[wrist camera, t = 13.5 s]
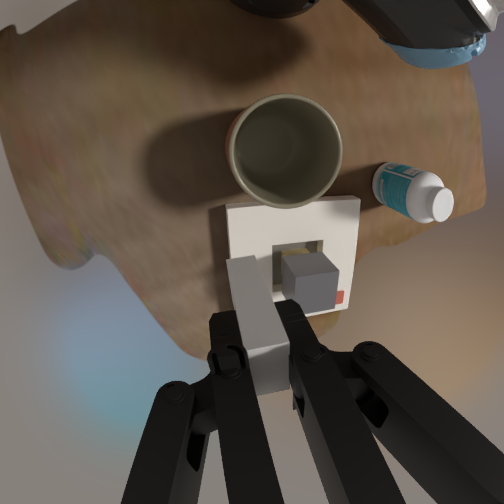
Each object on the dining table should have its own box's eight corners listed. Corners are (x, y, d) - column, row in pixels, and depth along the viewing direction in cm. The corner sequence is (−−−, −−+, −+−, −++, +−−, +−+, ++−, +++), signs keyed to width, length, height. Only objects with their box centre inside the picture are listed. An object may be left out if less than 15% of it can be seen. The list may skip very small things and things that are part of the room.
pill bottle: (386, 212, 46) (438, 242, 34) (362, 184, 43) (416, 209, 31) (410, 180, 44) (465, 202, 32) (388, 151, 41) (446, 166, 29)
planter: (284, 88, 35) (314, 76, 25) (320, 164, 40) (358, 178, 30) (203, 127, 35) (205, 126, 26) (246, 203, 41) (263, 229, 31)
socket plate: (225, 204, 40) (227, 209, 38) (352, 195, 43) (362, 200, 40) (234, 318, 49) (237, 329, 46) (341, 300, 52) (348, 309, 49)
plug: (275, 245, 44) (295, 277, 35) (312, 241, 45) (339, 270, 36) (275, 279, 46) (293, 316, 38) (310, 274, 47) (334, 308, 38)
